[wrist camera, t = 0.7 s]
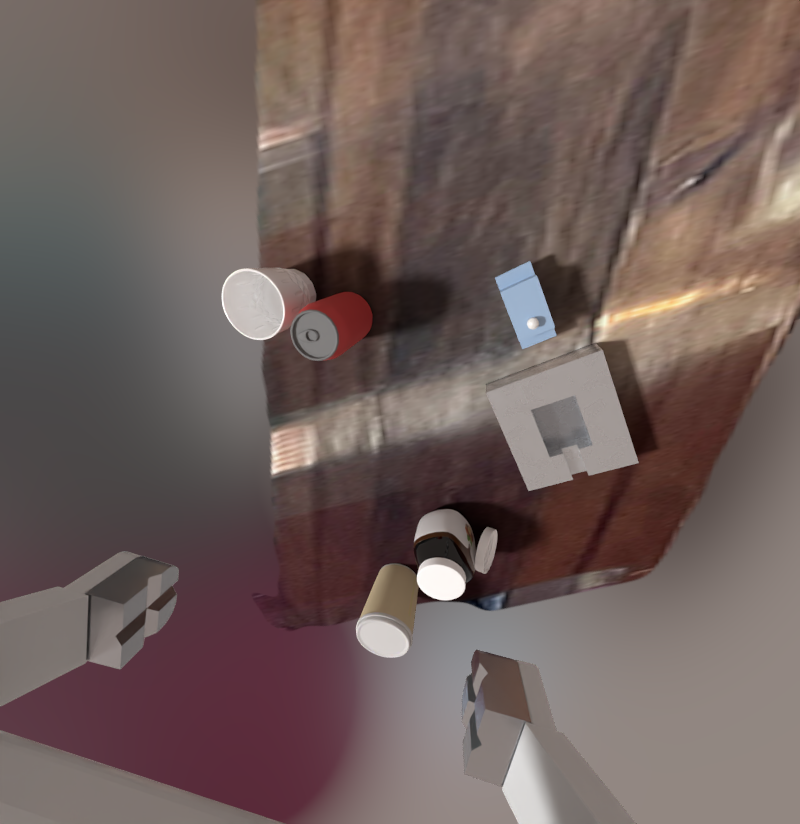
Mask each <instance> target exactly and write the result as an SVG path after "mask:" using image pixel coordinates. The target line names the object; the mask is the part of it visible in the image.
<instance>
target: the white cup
mask: <svg viewBox="0 0 800 824" xmlns="http://www.w3.org/2000/svg"><path fill="white" fill-rule="evenodd" d="M315 301H316V292H315V289H314V286H313V283H312V282H311V281H310V279H309V278H308V277H307V276H306V274H304V273H302V272H300V271H298V270H296V269H283V268H249V269H240V270H237V271H235V272H233V273H232V274H231V275H230V276H229V277H228V278H227V279H226V281H225V283H224V286H223V289H222V304H223V309H224V312H225V314H226V316H227V318H228V320H229V321H230V323H231V324H232V325H233V326H234V328H235V329H236V330H237V331H239V332H240V333H241V334H243V335H244V336H246V337H249V338H251V339H255V340H265V339H269V338H271V337H273V336H275V335H277V334H279V333H280V332H282V331H284V330H286V329H288V328H290V327H291V325H292V321H293V320H294V318H295V317H296V316H297V315H298V313H299V312H300V310H301V309H302V308H304V307H305V306H306V305H308V304H310V303H312V302H315Z"/></svg>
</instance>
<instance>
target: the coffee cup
mask: <svg viewBox="0 0 800 824" xmlns="http://www.w3.org/2000/svg"><path fill="white" fill-rule="evenodd" d="M417 594H418V583H417V575H416V574H415V572H414V571H413V570H411V569H410V568H409V567H407V566H404V565H401V564H395V563H394V564H388V565H385V566H384V567H382V569H381V570H380V572H379V574H378V576H377V578H376V581H375V583H374V585H373V588H372V590H371V592H370V595H369V597H368V600H367V602H366V604H365V607H364V609H363V612H362V614H361V617H360V619H359V620H358V622H357V625H356V634H357V638H358V640H359V642H360V643H361V644H362V646H363V647H365V648H366V649H367V650H368V651H370V652H372V653H374V654H376V655H379V656H382V657H388V658H394V657H399V656H402V655H404V654H405V653H406V652H407V651H408V650H409V649H410V647H411V645H412V640H413V637H412V634H413V627H414V619H415V611H416V603H417Z"/></svg>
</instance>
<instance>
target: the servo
mask: <svg viewBox="0 0 800 824" xmlns="http://www.w3.org/2000/svg"><path fill="white" fill-rule="evenodd" d="M495 279H496V282H497V284H498V287H499V290H500V293H501V296H502V298H503V301H504V303H505V306H506V308H507V311H508V314H509V316H510V319H511V321H512V324H513V327H514V329H515V332H516V334H517V337H518V339H519V342H520V344H521V346H522V349H524V348H527V347H529V346H532V345H534V344H537V343H539V342H542V341H544V340H547V339H549V338H552V337H554V336H557V335H556V333H555V330H554V328H555V325H554V323H553V320H552V317H551V314H550V311H549V308H548V305H547V303H546V300H545V297H544V294H543V291H542V288H541V286H540V283H539V280H538V277H537V275H535V273H534V270H533V267H532V265H531V262H530V261H528V262H526V263H524V264H522V265H520V266H518V267H516V268H513V269H511V270H509V271H507V272H505V273H503V274H501V275H499V276H497V277H495Z"/></svg>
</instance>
